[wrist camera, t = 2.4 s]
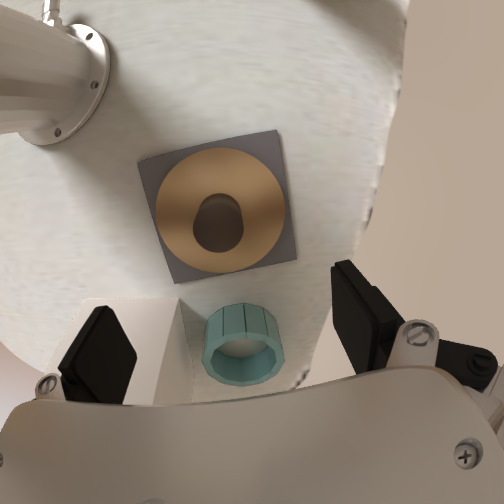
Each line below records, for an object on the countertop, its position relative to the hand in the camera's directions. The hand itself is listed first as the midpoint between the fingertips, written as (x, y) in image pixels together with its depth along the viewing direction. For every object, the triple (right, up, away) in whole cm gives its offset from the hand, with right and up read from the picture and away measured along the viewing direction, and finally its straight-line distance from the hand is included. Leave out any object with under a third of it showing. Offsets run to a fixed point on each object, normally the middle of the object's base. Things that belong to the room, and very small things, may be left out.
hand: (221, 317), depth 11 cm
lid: (-2, +6, +13) cm, 14 cm away
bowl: (0, -6, +19) cm, 20 cm away
